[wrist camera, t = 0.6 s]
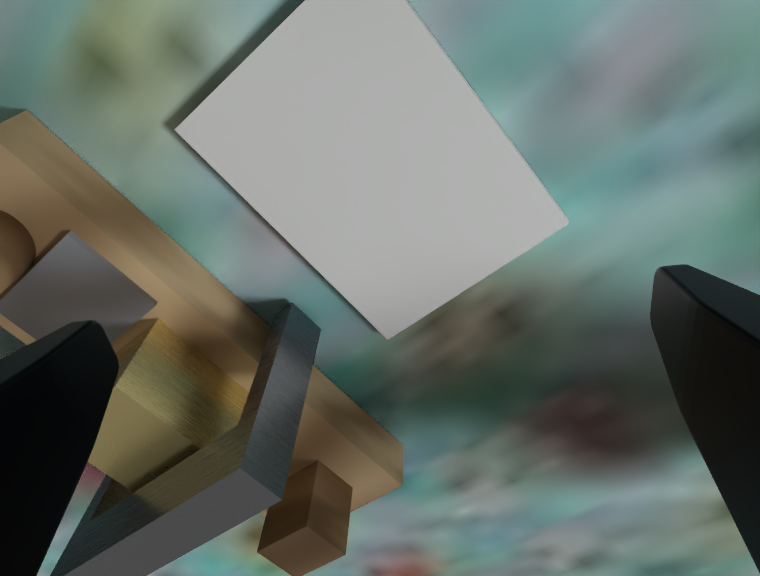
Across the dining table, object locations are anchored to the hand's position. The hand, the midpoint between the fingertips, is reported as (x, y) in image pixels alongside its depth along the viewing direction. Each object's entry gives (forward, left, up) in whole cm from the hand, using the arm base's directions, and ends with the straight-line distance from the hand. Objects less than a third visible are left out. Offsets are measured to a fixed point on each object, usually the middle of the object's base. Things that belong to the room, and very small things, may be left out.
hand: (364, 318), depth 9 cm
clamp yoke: (-5, +14, -13) cm, 20 cm away
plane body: (-3, +14, -13) cm, 20 cm away
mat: (-2, +2, -13) cm, 14 cm away
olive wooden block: (-4, +14, -11) cm, 18 cm away
